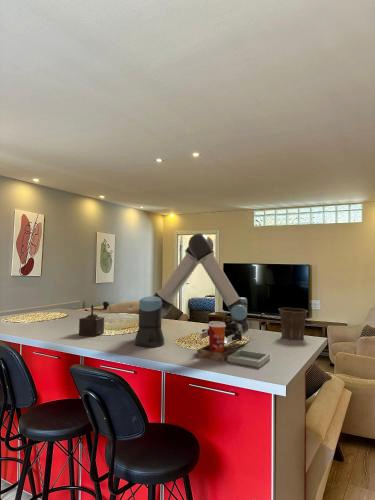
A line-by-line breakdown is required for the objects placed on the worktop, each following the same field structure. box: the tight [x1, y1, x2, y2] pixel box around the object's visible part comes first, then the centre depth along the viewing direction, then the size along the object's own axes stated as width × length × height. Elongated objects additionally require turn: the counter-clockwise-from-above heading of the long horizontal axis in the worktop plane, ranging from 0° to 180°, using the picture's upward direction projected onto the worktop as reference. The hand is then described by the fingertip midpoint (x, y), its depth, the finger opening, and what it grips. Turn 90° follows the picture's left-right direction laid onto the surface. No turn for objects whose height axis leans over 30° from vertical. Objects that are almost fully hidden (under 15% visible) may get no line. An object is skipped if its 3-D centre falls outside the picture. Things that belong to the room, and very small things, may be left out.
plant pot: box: [278, 307, 309, 341], centre depth 198 cm, size 16×16×16 cm
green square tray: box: [227, 349, 271, 369], centre depth 148 cm, size 14×14×2 cm
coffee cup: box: [207, 320, 226, 353], centre depth 156 cm, size 8×8×15 cm
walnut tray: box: [196, 344, 236, 362], centre depth 156 cm, size 13×13×3 cm
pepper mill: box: [78, 301, 110, 338], centre depth 197 cm, size 16×11×18 cm
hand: (213, 337), depth 153 cm, fingers open, 13 cm apart
